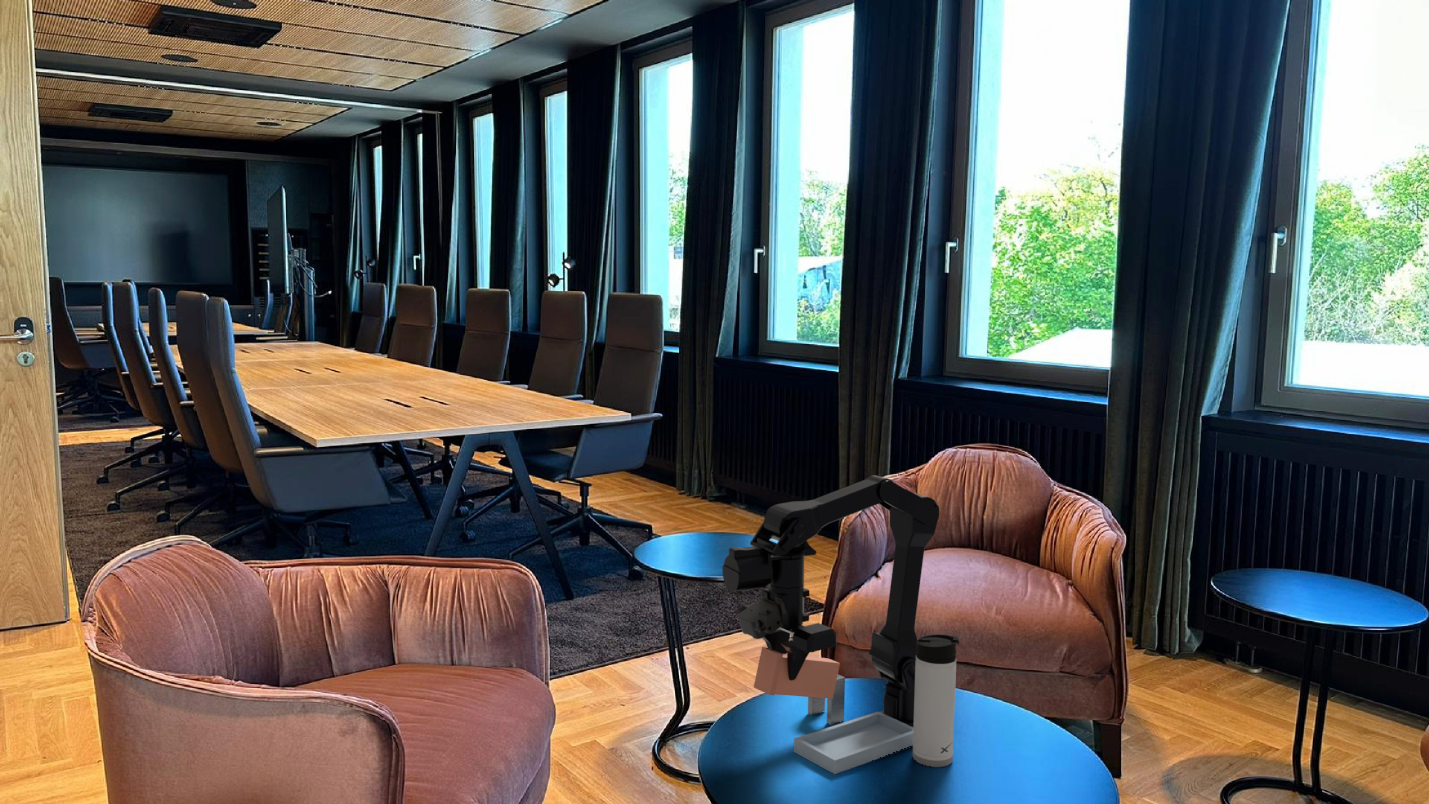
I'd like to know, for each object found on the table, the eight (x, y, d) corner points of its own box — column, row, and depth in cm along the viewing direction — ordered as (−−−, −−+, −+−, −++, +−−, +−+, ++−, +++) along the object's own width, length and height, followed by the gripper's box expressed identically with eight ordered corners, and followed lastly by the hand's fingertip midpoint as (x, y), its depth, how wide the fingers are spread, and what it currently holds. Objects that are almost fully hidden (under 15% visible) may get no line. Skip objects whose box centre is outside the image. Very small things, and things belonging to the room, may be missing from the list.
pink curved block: (818, 692, 174) (826, 654, 174) (835, 699, 170) (843, 660, 171) (753, 687, 166) (762, 647, 166) (769, 695, 162) (778, 653, 163)
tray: (878, 723, 176) (878, 711, 175) (920, 743, 168) (920, 730, 168) (793, 751, 164) (794, 738, 164) (834, 774, 157) (835, 760, 156)
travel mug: (955, 770, 158) (960, 645, 156) (912, 765, 160) (916, 641, 158) (954, 752, 165) (958, 632, 163) (912, 748, 166) (916, 629, 164)
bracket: (820, 709, 181) (821, 667, 181) (843, 721, 176) (845, 677, 176) (807, 713, 180) (808, 670, 179) (831, 725, 175) (832, 681, 174)
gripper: (712, 578, 168) (712, 670, 170) (784, 606, 153) (783, 706, 154) (765, 568, 174) (765, 656, 176) (839, 594, 159) (838, 690, 161)
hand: (785, 676), depth 167 cm, fingers closed on pink curved block, 3 cm apart
